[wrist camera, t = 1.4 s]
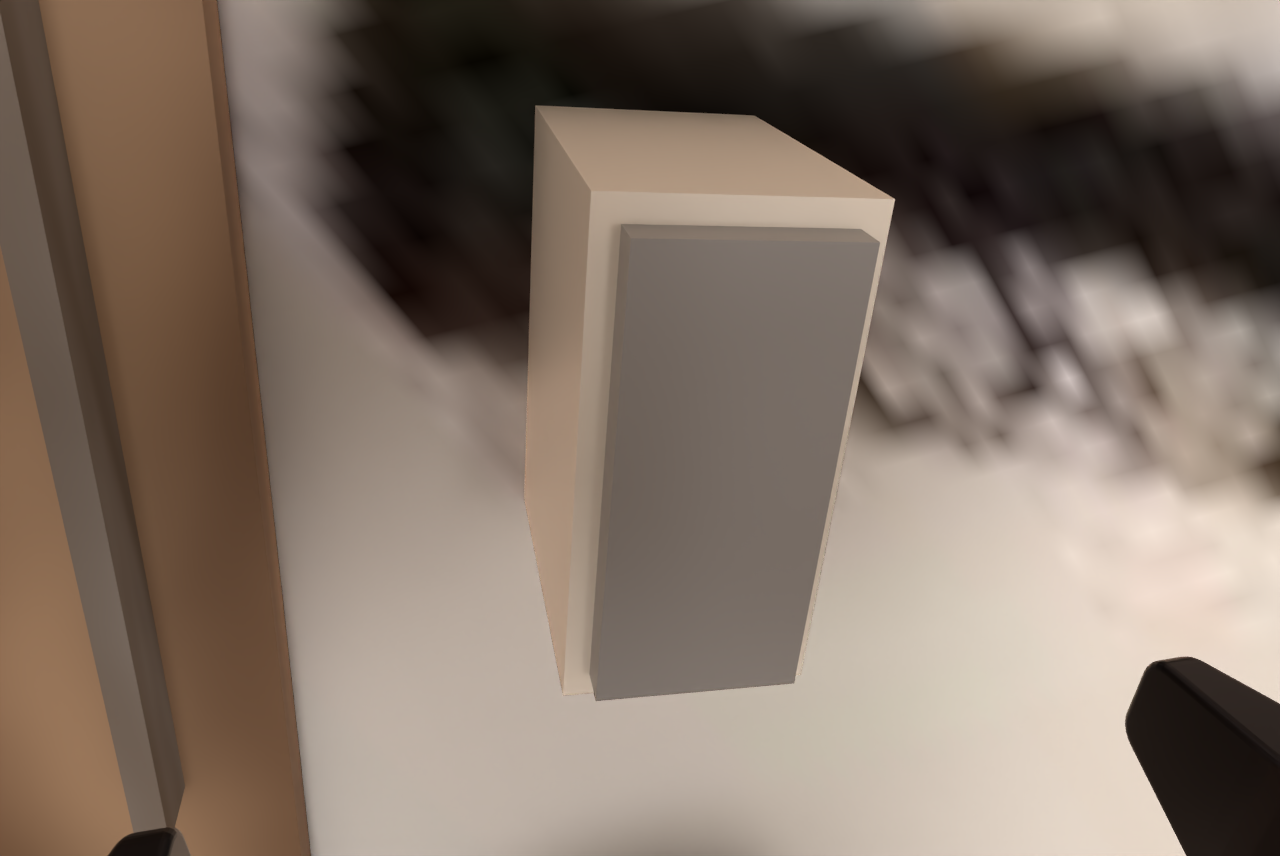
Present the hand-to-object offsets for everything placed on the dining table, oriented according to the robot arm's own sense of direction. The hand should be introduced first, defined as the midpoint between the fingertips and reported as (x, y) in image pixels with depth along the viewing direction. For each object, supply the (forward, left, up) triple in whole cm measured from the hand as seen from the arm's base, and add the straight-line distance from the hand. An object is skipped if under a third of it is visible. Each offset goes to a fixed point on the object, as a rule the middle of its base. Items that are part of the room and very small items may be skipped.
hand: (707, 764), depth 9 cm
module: (-2, 0, -12) cm, 12 cm away
